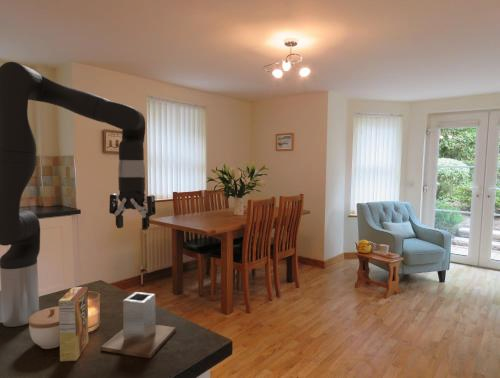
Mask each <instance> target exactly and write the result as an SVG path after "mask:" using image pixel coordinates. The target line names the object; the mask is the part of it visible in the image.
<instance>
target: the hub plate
mask: <svg viewBox="0 0 500 378" xmlns="http://www.w3.org/2000/svg"><path fill="white" fill-rule="evenodd" d="M176 329H177V328H176V327H175V326H167V325H160V324H156V332H155V333H154V334H153V335H152V336H151V337H150V338H149V339H148V340H147V341H146V342H145V343H144V344H143V343H137V342H130V341H124V328H122V329H121V330H120V331H118V332H117V333H116V334H115V335H113V336H112V337H111V338H110V339H109V340H108V341H105V342H104V343H103V344H102V345H101V346H100V351H103V352H109V353H115V354H121V355H126V356H134V357H140V358H144V359H145V358H146V359H151V358H152V357H153V356H154V355H155V354H156V352H158V350H160V349H161V347H162V346H163V345H164V344H165V343H166V342H167V341H168V340H169V339H170V338H171V336H173V334H174V333H175V332H176Z"/></svg>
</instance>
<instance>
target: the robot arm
mask: <svg viewBox="0 0 500 378" xmlns="http://www.w3.org/2000/svg"><path fill="white" fill-rule="evenodd" d="M29 101H35V102H40V103H44V104H45V103H47V104H51V105H54V106H56V107H57V106H58V107H60V108H63V109H66V110H68V111H70V112H72V113H74V114H77V115H79V116H82V117H84V118H88V119H91V120H93V121H96V122H100V123H102V124H103V123H104V124H108V125H110V126H112V127H115V128H118V129H119V130H121V131H122V133H121V141H120V142H119V145H118V166H117V167H118V168H117V172H118V173H117V174H118V179H117V180H118V191H119V194H118V193H112V194H109V206H108V207H109V210H108V211H109V214H112V215H114V216H115V226H116V227H117V229H122V228H124V213H125V211H126V210H130V209H131V210H137V212H138V213H139V214H140V215H141V216H142V217H141V229H142V231H146V230H148V229H149V228H150V217H151V216H152V217H153V216H154V215H156V213H157V212H156V197H155V195H154V194H152V195H146V193H145V192H146V191H145V190H146V167H145V161H144V160H145V155H144V154H145V151H144V143H145V135H146V119H145V115H144V114H143V113H142V112H141V111H139V110H138V109H136V108H135V107H133V106H130V105H127V104H124V103H120V102H116V101H112V100H109V99H108V98H104V97H103V96H99V95H97V94H93V93H91V92H88V91H84V90H81V89H76V88H72V87H68V86H66V85H62V84H61V83H58V82H55V81H53V80H52V79H49V78H48V77H46V76H44V75H43V74H40V73H38V72H37V71H36V70H34V69H33V68H31V67H28V66H26V65H24V64H21V63H19V62H17V61H7V62H5V63H2V65H0V246H6V247H7V246H10V247H9V249H8V250H7V251H6V252H5V253H4V254H3V255H2V256H0V323H1V324H2V325H3V326H4V327H8V328H9V327H12V328H13V327H20V326H25V325H29V324H28V319H29V318H30V316H31V315H33V314H34V313H36V312H38V311H40V300H39V299H40V293H39V274H38V273H39V272H38V270H39V269H38V257H39V254H40V251H41V224H40V219H39V217H38V216H37V215H36V214H35V212H33V211H31V210H28V209H23V210H20V208H21V207H20V205H21V199H22V196H23V194H24V191H25V189H26V187H27V186H28V184H29V182H30V181H31V179H32V178H33V175H34V173H35V170H36V166H37V165H36V164H37V144H36V139H35V136H34V134H33V130H32V128H31V126H30V121H29V116H28V107H29ZM119 202H120V204H119ZM145 203H146V204H145Z"/></svg>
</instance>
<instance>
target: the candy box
mask: <svg viewBox="0 0 500 378" xmlns="http://www.w3.org/2000/svg"><path fill="white" fill-rule="evenodd" d="M88 293H89V291H88V286H79V287H78V286H77V287H74V286H73V287H71V288H70V289H69V290H68V291H67V292H66V293H65V294H64V295H63V296H62V297H61V298H60V299H59V300H58V306H59V332H60V346H59V361H60V362H61V363H62V362H72V361H73V362H74V361H78V359H79V357H80V356H81V354H82V353H83V351H84V349H85V348H86V346H88V345H87V344H88V343H89V297H88V296H89V294H88Z"/></svg>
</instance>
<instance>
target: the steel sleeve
mask: <svg viewBox="0 0 500 378" xmlns="http://www.w3.org/2000/svg"><path fill="white" fill-rule="evenodd" d="M122 309H123V310H122V312H123V313H122V315H123V316H122V320H123V328H122V329H124V341H130V342H137V343H143V344H144V343H145V342H146V341H147V340H148V339H149V338H150V337H151V336H152V335H153V334H154V333H155V332H156V325H157V324H156V323H157V321H156V293H148V292H142V291H141V292H140V291H135V292H133V293H132V294H131V295H129V296H127V297H125V299H123V300H122Z"/></svg>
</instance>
